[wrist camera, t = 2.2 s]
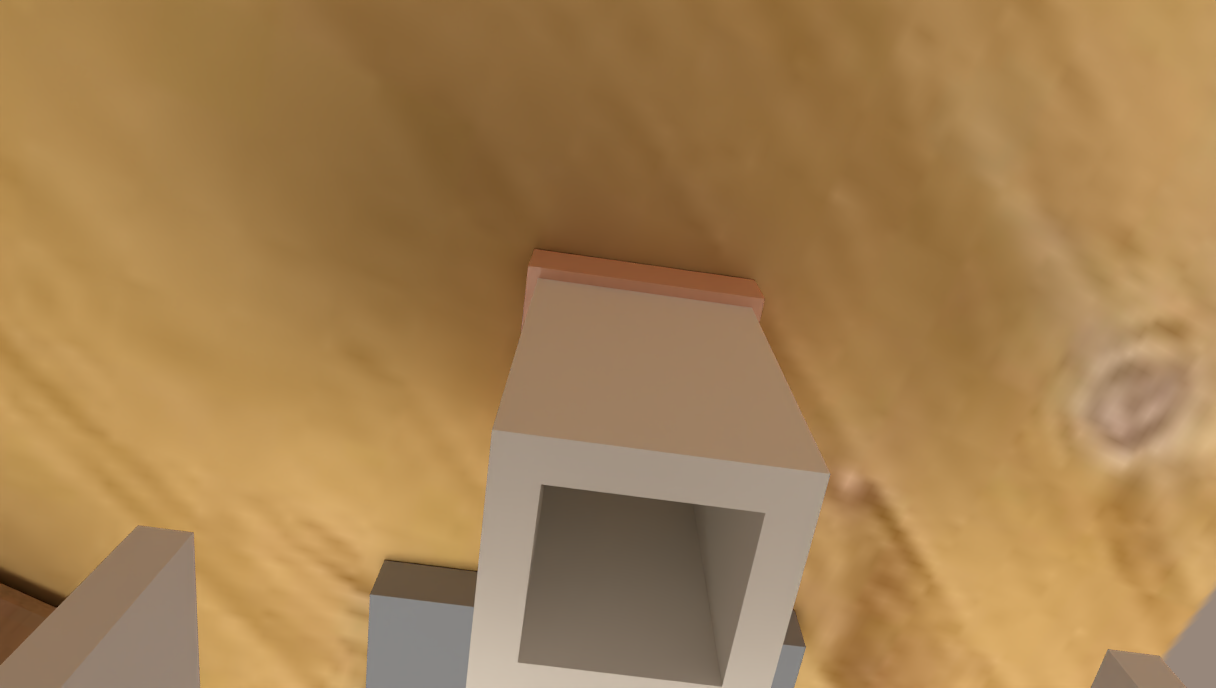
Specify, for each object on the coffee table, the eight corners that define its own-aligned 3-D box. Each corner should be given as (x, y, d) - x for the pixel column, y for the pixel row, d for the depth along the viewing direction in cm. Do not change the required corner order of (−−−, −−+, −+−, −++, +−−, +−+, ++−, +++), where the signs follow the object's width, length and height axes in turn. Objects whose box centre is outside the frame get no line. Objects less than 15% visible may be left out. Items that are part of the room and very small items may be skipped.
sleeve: (534, 248, 20) (476, 411, 12) (754, 279, 20) (850, 461, 12) (511, 445, 22) (449, 704, 14) (712, 471, 22) (770, 740, 14)
